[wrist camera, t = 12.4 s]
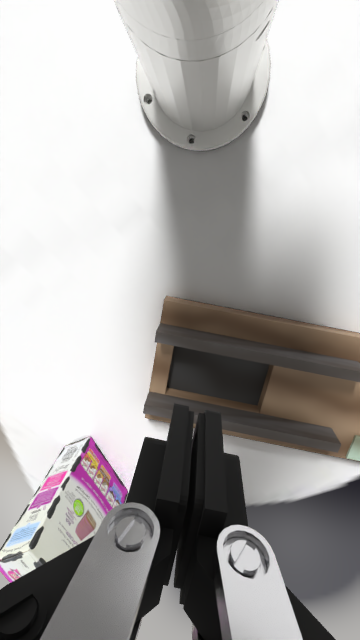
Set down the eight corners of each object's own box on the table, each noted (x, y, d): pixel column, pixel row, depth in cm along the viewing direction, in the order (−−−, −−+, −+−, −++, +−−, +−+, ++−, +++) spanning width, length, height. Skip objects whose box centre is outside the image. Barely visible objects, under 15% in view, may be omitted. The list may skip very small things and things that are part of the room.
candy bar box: (62, 445, 46) (-13, 562, 30) (91, 434, 45) (28, 549, 29) (101, 501, 48) (51, 635, 33) (129, 491, 47) (91, 625, 32)
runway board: (166, 295, 38) (160, 307, 33) (487, 357, 36) (528, 378, 32) (147, 409, 43) (140, 432, 38) (429, 465, 42) (457, 497, 37)
